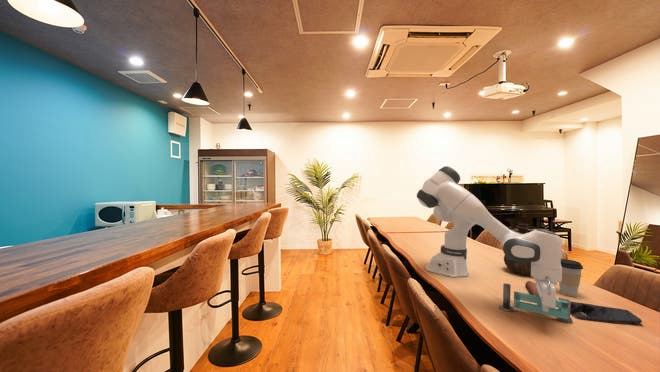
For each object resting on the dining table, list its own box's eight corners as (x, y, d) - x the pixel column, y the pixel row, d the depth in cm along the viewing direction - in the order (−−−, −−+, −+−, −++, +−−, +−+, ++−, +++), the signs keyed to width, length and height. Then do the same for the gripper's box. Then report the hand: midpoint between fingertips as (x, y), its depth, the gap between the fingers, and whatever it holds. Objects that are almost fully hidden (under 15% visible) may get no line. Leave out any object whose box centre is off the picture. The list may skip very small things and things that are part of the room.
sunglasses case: (560, 305, 108) (550, 290, 110) (542, 311, 111) (532, 296, 112) (546, 289, 125) (537, 276, 126) (530, 294, 127) (522, 281, 129)
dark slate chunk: (651, 331, 91) (651, 318, 91) (572, 319, 99) (573, 307, 99) (619, 311, 106) (620, 299, 106) (553, 302, 113) (553, 291, 113)
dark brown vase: (540, 271, 150) (541, 223, 150) (545, 281, 135) (546, 227, 135) (503, 265, 160) (504, 220, 159) (503, 274, 145) (505, 224, 144)
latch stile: (557, 319, 98) (557, 300, 97) (555, 315, 101) (556, 296, 100) (572, 323, 95) (573, 303, 95) (570, 319, 98) (571, 299, 98)
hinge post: (498, 309, 105) (499, 285, 105) (499, 304, 109) (499, 281, 109) (514, 313, 102) (514, 288, 102) (513, 308, 106) (514, 283, 106)
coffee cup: (587, 299, 115) (589, 265, 115) (563, 297, 117) (564, 264, 116) (572, 290, 124) (573, 259, 124) (550, 288, 126) (550, 257, 126)
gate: (514, 307, 103) (514, 292, 103) (513, 305, 105) (514, 291, 105) (567, 319, 95) (568, 303, 95) (566, 317, 97) (566, 301, 96)
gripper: (562, 284, 86) (561, 325, 86) (552, 268, 103) (552, 303, 103) (537, 279, 90) (536, 319, 90) (532, 265, 107) (532, 298, 107)
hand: (544, 310), depth 97 cm, fingers closed
